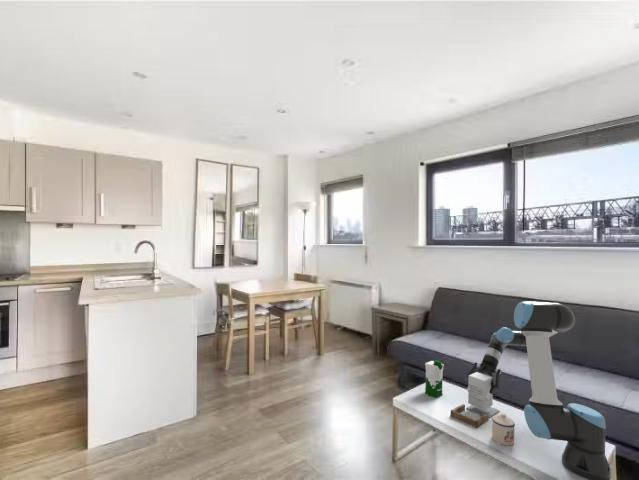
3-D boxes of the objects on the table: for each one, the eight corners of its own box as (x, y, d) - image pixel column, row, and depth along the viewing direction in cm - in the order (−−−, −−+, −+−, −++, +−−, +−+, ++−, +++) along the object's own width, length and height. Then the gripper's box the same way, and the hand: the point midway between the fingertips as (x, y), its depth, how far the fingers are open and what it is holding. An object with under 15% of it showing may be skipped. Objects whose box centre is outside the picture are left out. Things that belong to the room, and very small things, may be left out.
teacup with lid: (507, 448, 142) (507, 421, 143) (487, 437, 150) (487, 412, 150) (522, 440, 149) (522, 414, 149) (502, 431, 156) (502, 406, 157)
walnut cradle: (476, 428, 158) (476, 421, 158) (450, 416, 169) (450, 410, 169) (488, 420, 166) (488, 414, 166) (462, 409, 176) (462, 404, 176)
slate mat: (489, 418, 168) (489, 417, 168) (466, 408, 177) (466, 407, 177) (499, 411, 175) (499, 410, 175) (477, 402, 185) (477, 401, 185)
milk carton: (436, 399, 188) (437, 363, 188) (422, 393, 195) (423, 359, 195) (444, 395, 193) (445, 360, 193) (431, 389, 200) (431, 356, 201)
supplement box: (476, 398, 181) (476, 371, 181) (492, 405, 174) (493, 376, 174) (467, 403, 176) (467, 374, 176) (484, 410, 169) (484, 380, 169)
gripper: (514, 368, 176) (501, 406, 166) (474, 356, 193) (460, 391, 183) (510, 360, 173) (496, 398, 163) (470, 349, 190) (455, 383, 180)
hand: (477, 394), depth 173 cm, fingers closed on supplement box, 9 cm apart
